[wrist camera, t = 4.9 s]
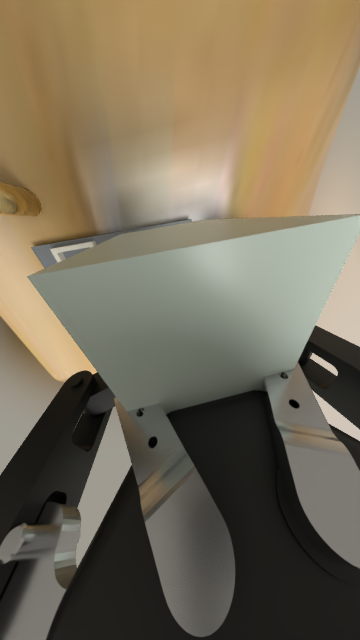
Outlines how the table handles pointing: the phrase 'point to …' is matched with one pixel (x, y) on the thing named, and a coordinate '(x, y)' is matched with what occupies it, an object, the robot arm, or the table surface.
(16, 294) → the table surface
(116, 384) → the block
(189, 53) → the table surface
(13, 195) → the pin
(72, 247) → the board
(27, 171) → the table surface
